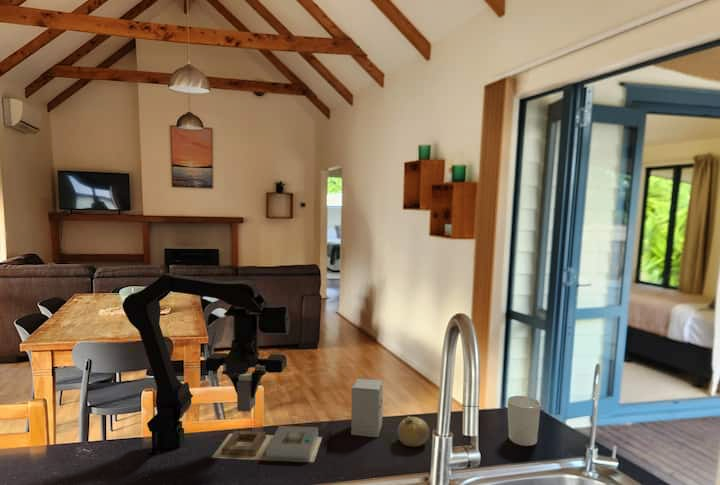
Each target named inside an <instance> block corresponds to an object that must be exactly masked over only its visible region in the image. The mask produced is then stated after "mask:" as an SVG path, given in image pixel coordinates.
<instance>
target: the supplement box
mask: <svg viewBox="0 0 720 485" xmlns="http://www.w3.org/2000/svg"><path fill="white" fill-rule="evenodd" d="M350 418H351V421H350V422H351V423H350V424H351V425H350V427H351V428H350V429H351V430H350V434H351V435H352V436H360V437H369V438H370V437H371V438H379V435H380V431H381V429H382V426H383V380H380V379H366V378H364V379H363V378H357V379H356V380H355V382H354V383H353V386H352V387H351V417H350Z"/></svg>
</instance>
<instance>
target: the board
mask: <svg viewBox="0 0 720 485" xmlns="http://www.w3.org/2000/svg"><path fill="white" fill-rule="evenodd" d="M232 434H233V433H229V434H228V435H227V436H226V437H225V439H224V440H223V441H222V443H221V444H220V445H219V447H218V448H217V449H216V451H215V452H214V453H213V455H212V456H211V457H210V458H211V459H229V460H231V459H232V460H249V461H250V460H255V461H267V460H266V449H267V447H268V446H269V444H270V442H271V440H272V438H273V436H274V435H275V434H273V435H272V434H266V439H265V441H264V442H263V444H262V446H261V448H260V449H259V451H258V453H257V455H256V456H241V455H222V448H223V446H224V445H225V444H226V442H227V441H228V440H229V438H230V437H231V436H232ZM322 438H323V437H322V436H318V439H317V442H316V445H315V448H314V451H313V454H312V456H311V459H310V462H309V463H315V460H316V457H317V454H318V452H319V448H320V445H321V442H322V440H323V439H322ZM253 441H254V440H239V442H238V443H237V445H236V446H251V444H252V443H253ZM286 444H301V442H287V443H286ZM271 461H273V462H274V461H275V462H277V460H271ZM294 462H295V463H297V462H299V463H301V462H300V461H294Z"/></svg>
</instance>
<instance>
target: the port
mask: <svg viewBox="0 0 720 485" xmlns="http://www.w3.org/2000/svg"><path fill="white" fill-rule="evenodd" d="M273 435H274V436H273V438H272V440H271V442H270V444H269V446H268V447H267V449H266V460H265V461H272V460H277V461H278V462H295V461H300V462H299V463H301V462H302V463H311V462H310V459H311V456H312V454H313V451H314V448H315V445H316V442H317V439H318V437H319V427H317V426H316V427H315V426H295V425H294V426H289V425H278V427H277V429H276V431H275V433H274V434H273ZM287 442H301V444H286V443H287ZM277 461H276V462H277Z"/></svg>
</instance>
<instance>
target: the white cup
mask: <svg viewBox="0 0 720 485" xmlns="http://www.w3.org/2000/svg"><path fill="white" fill-rule="evenodd" d="M540 411H541V402H540V401H539V400H538V399H536V398H535V397H534V398H533V397H530V396H527V395H526V396H525V395H513V396H509V397H508V398H507V421H508V422H507V425H508V426H507V427H508V437H509V440H510V441H511V442H512V443H514V444H516V445H520V446H522V447H523V446H525V447H529V446H530V447H531V446H532V447H533V446H534V445H536V444H537V442H538V432H539V425H540V415H541V412H540Z"/></svg>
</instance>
